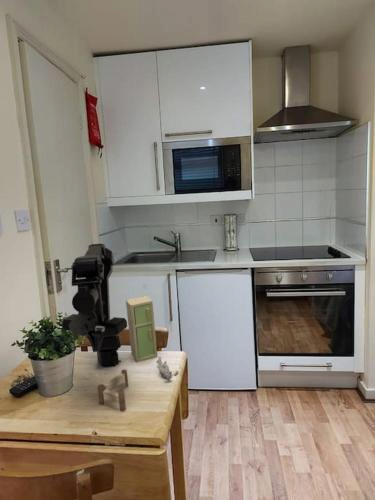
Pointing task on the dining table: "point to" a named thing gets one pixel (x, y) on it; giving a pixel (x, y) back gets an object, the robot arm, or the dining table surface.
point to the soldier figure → (165, 369)
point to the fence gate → (117, 382)
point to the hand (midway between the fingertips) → (97, 351)
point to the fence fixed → (111, 398)
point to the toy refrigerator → (141, 328)
